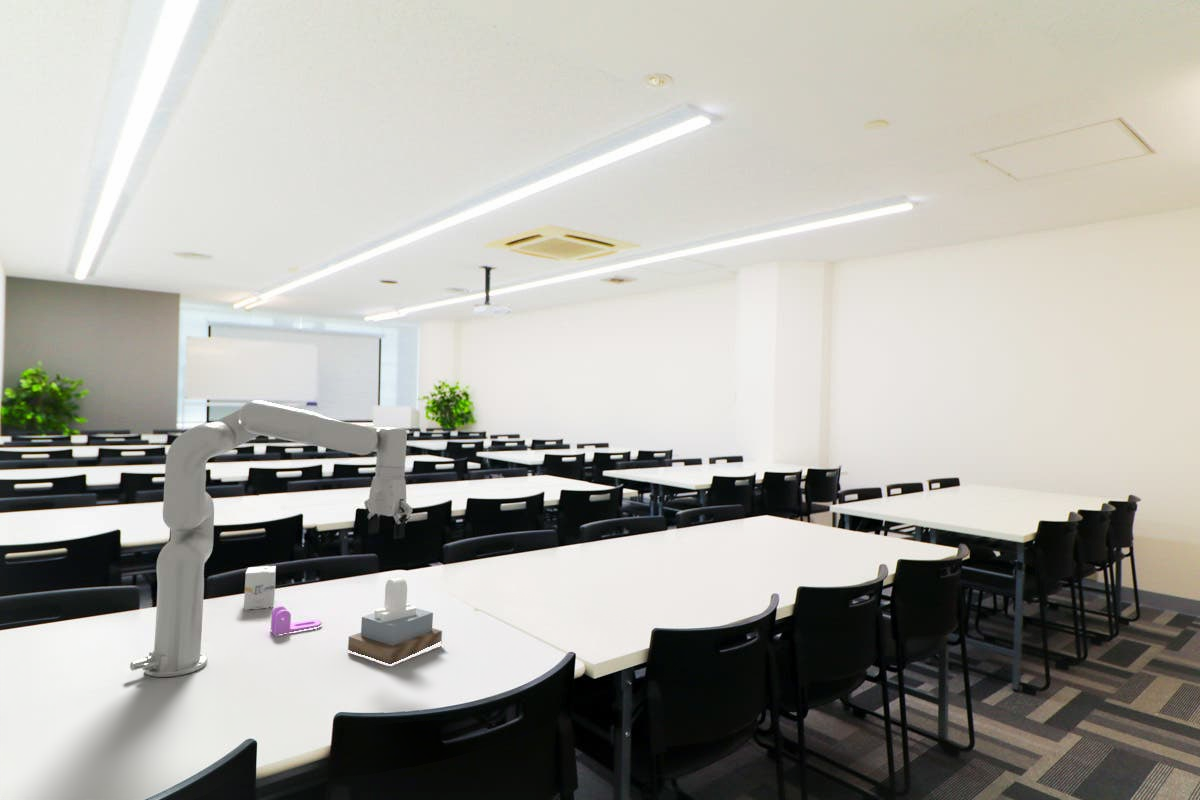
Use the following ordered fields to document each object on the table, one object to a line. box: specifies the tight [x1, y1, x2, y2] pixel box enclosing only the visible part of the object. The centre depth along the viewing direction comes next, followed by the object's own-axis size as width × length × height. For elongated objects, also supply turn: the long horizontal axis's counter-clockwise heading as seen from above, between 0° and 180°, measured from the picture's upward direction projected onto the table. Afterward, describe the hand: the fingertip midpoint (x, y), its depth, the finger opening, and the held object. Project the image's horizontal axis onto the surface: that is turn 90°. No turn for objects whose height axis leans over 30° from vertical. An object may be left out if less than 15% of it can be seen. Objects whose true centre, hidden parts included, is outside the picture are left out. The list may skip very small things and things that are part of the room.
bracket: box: [270, 605, 323, 636], centre depth 184 cm, size 13×6×7 cm, turn 130°
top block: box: [360, 607, 434, 646], centre depth 173 cm, size 14×12×5 cm
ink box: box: [243, 565, 277, 611], centre depth 204 cm, size 9×8×12 cm
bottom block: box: [347, 627, 443, 664], centre depth 172 cm, size 18×16×5 cm
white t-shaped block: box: [374, 577, 417, 622], centre depth 172 cm, size 5×10×10 cm, turn 138°
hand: (386, 535), depth 173 cm, fingers open, 9 cm apart
